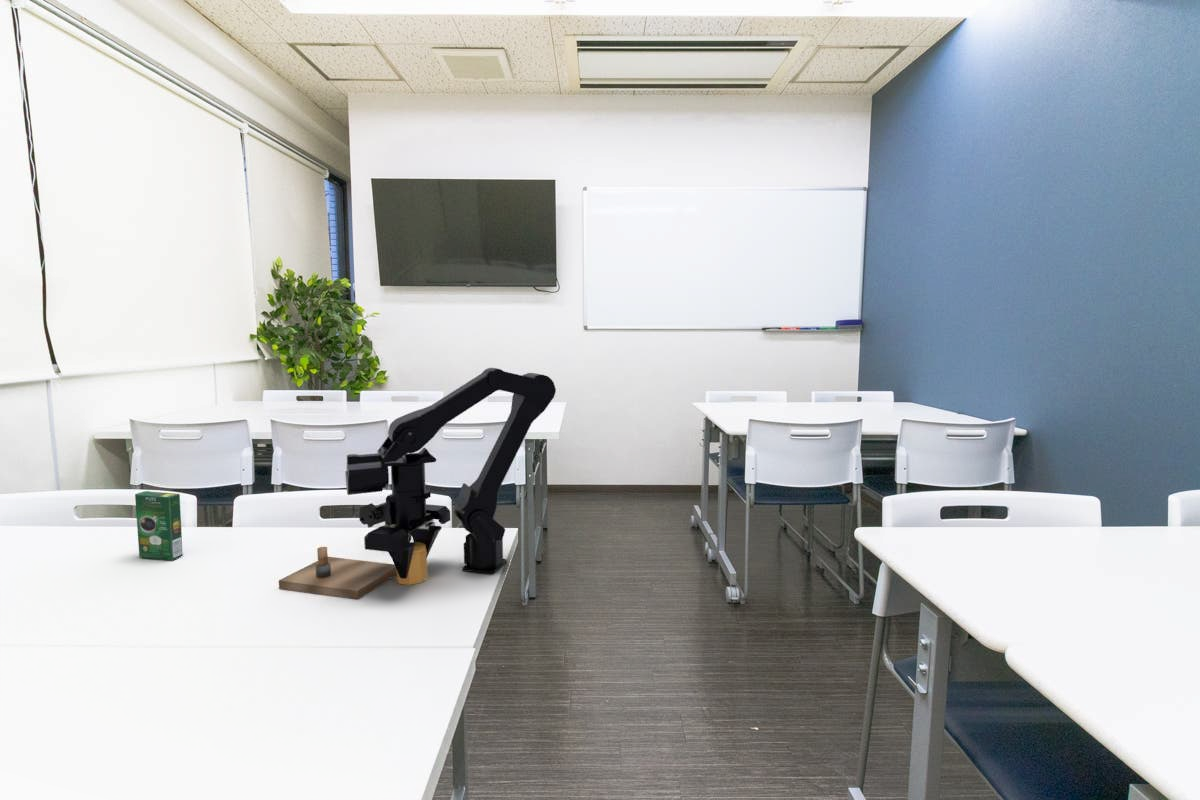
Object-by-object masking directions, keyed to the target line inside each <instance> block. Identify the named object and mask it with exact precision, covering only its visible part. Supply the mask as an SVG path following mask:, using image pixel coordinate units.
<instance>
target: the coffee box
mask: <svg viewBox="0 0 1200 800" xmlns="http://www.w3.org/2000/svg"><path fill="white" fill-rule="evenodd" d="M180 495H181V494H180V493H173V492H172V493H171V492H161V491H160V492H159V491H149V490H146V491H145V490H144V491H141V492H138V493H135V494H134V496H135V497H134V498H135V499H134V500H135V511H136V524H137V525H136V527H137V539H138V540H137V542H138V557H139V558H140V557H141V559H146V558H149V559H150V558H153V560H162V559H165V560H164V561H172V560H173V561H175V560H177V559H176V558H178V557H180V558H182V557H183V556H184V555H183V537H182V534H183V533H182V517H181V513H182V512H181V496H180ZM181 556H182V557H181ZM174 559H175V560H174ZM178 559H179V558H178Z"/></svg>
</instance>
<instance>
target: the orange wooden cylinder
mask: <svg viewBox="0 0 1200 800" xmlns="http://www.w3.org/2000/svg"><path fill="white" fill-rule="evenodd" d="M412 542H413V541H412ZM413 543H415V546H414V550H413V555H412V559H411V563H410V567H409V571H408V575H407V578H405V579H403V578H400V576H399V574H398V572H397V569H396V575H395V576H396V581H397V582H398V584H399V585H405V586H406V585H408V586H411V585H412V586H413V585H417V584H421V583H422V582H424V581H426V580H427V579H428V560H427V559H428V557H427V550H426V545H425V544H424V543H420V542H413Z"/></svg>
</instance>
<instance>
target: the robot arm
mask: <svg viewBox="0 0 1200 800" xmlns="http://www.w3.org/2000/svg"><path fill="white" fill-rule="evenodd" d="M497 391H502V392H508V393H511V394H513V395H512V400H511V407H510V408H511V409H510V413H509V414H508V417H507V420H506V421H505V423H504V425H503V427H502V429H501V431H500V433H499V435H498V437H497V440H496V441H495V443H494V445H493V448H492V449H491V451H490V452H489V455H488V457H487V459H486V461H485V463H484V465H483V467H482V469H481V471H480V473H479V475H478V477H477V479H475V481H473V482H472V483H471V484H470V485H468V484H466V483H462V485H461V487H460V491H459V494H458V495H457V497H456V498H455V499H454V500H453V503H454V504H455V505H454V507H453V508H454V510H453V512H454V516H455V519H456V520H457V521H458V523H459V524H460V525H461V526H462V527H463V529H464V530H465V531H467V532H468V534H466V535H465V542H464V543H463V563H464V564H465V565H463V566H462V567H461V571H465V572H472V573H473V572H474V573H481V574H483V573H484V574H489V575H490V574H495V573H496V572H497V571H498V570H499V569H501V567H503V566H505V564H507V563H508V562H507V561H508V560H507V559H506V558H504V548H503V547H504V543H503V541H504V540H503V539H504V536H505V533H506V529H505V527H504V526H503V525H501V524H500V523H499V522H498V520H497V519H496V518H494V516H495V514H496V510H497V507H498V500H499V499H498V498H499V491H500V488H501V487H502V484H503V482H504V480H505V478H506V476H507V474H508V472H509V470H510V468H511V466H512V464H513V461H514V460H515V457H516V456H517V454H518V452H519V449H521V448H520V447H521V446H522V443H523V442H524V440H525V438H526V435H527V434H528V432H529V430H530V427H531V425H532V424H533V423H534V421H535V420H537V418H539V417H540V416H541V415H542V414H543V413H544V412H545V411H546V409H547V408H548V407H549V405H550V403H551V402H552V401H553V400H554V398H555V396H556V393H557V392H556V391H557V389H556V386H555V382H554V381H553V380H552V378H551V377H550V376H548V375H545V374H540V373H535V372H526V373H525V374H522V375H521V374H517V373H512V372H509V371H505V370H503V369H501V368H497V367H487V368H485V370H483V371H482V373H479V374H478V375H477V376H475V377H474V378H472V379H471V380H469V381H468V382H466V383H464V384H462V385H461V386H459V387H458V388H456V389H454V390H453V391H452V392H450V393H449V394H447V395H445V396H443V397H442V398H441V399H439V400H437V401H436V402H434V403H433V404H430V405H429V406H428V405H427V406H426V407H424V408H421V409H417V410H413V411H411V412H409V413H407V414H404V415H402V416H399V417H397V418H395V419H394V420H393V421H392V422H391V423H390V424H389V427H388V431H387V434H388V435H387V436H386V439H385V440H384V442H382V445H380V447H379V448H378V450H377V453H367V454H358V453H357V454H355V453H353V454H352V453H351V454H347V455H346V471H345V486H346V487H345V488H346V493H347V496H350V495H360V494H368V493H378V492H383V489H385V488H387V486H389V483H390V480H389V479H390V475H391V494H388V495H386V497H385V502H382V503H379V504H377V505H374V503H372V502H371V503H368V504H365V505H363V506H360V507H359V516H358V517H359V520H358V521H360V523H361V524H362V525H367V528H372V527H374V526H375V525H379V524H381V523H384V525H395V528H391V527H381V526H379V527H377V528H375V529H373V530H371V531H369V532H368V533H367V534H366V535H364V538H363V541H364V544H363V545H364V550H368V551H376V552H379V551H380V552H387V553H388V554H389V556H390V558H391V560H392V562H393V564H394V565H395V567H396V569H397V572H398V574H399V576H400V578H403V579H405V578H407V575H408V571H409V567H410V563H411V559H412V555H413V550H414V546H415V543H413V542H420V543H424V544H425V545H426V550H427V558H428V556H429V554H430V552H431V550H432V547H433V545H434V543H435V542H436V541H435V540H436V539H437V537H438V535H439V533H440V532H441V530H442V526H441V525H445V524H446V523H448V522H450V521H451V510H450V509H449V508H448V507H447V505H437V504H427V499H429V498H431V494H432V493H431V491H428V490H427V489H426V467H425V466H426V464H427V463H428V464H429V463H436V462H437V458H436V457H435V456H434V455H432V454H431V453H430V452H429V450H428V449H427V448H426V447H425V446H426V444H428V443H429V442H430V441H431V440H432V439H433V438H434V437H435V436H436V435H437V433H438V432H439V431H440V430H441V429H442V427H445V425H446V424H448V423H449V422H451V421H452V420H453V419H455V418H457V417H458V416H460V415H461V414H463V413H465V412H467V410H469V409H471V408H472V407H474V406H475V405H477V404H478V403H480V402H482V401H483V400H484V399H487V397H489V396H490V395H491V396H492V394H494V393H495V392H497ZM418 451H419V452H418ZM389 467H390V470H391V471H390V473H391V474H389ZM434 520H438V523H440V525H436V522H435V521H434ZM409 535H411V538H412V540H413V541H410V542H409Z"/></svg>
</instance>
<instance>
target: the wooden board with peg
mask: <svg viewBox="0 0 1200 800" xmlns="http://www.w3.org/2000/svg"><path fill="white" fill-rule="evenodd" d="M316 551H317V561H315V562H313V563H311V564H309V565H307V566H305V567H302V568H301V569H299V570H296V571H294V572H292V573H291V574H289V575H287V576H285V577H283V578H281V579H279V580H278V588H279V590H287V591H293V592H300V593H309V594H315V595H321V596H329V597H337V598H343V599H344V598H345V599H353V600H359V599H361V598H362V597H364V596H366V595H367V594H369V593H370V592H372V591H373V590H375V589H376V588H378V587H380V586H381V585H382V584H384V583H386V582H387V581H388V580H390V579H392V578H394V577H395V576H396V567H395V565H394V563H385V562H379V561H377V562H376V561H368V560H359V559H354V558H353V559H351V558H342V557H336V556H335V557H334V556H328V547H327V546H320V547H318V548H317V550H316Z"/></svg>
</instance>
